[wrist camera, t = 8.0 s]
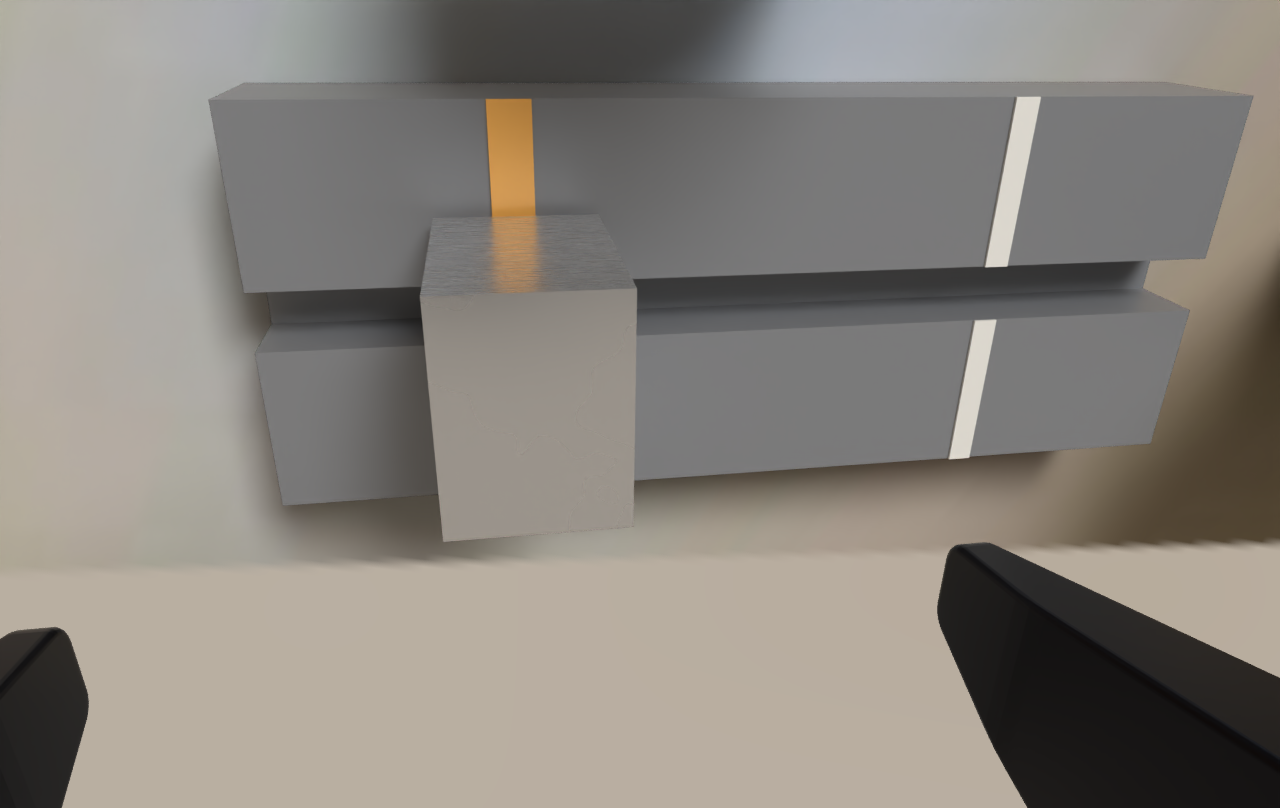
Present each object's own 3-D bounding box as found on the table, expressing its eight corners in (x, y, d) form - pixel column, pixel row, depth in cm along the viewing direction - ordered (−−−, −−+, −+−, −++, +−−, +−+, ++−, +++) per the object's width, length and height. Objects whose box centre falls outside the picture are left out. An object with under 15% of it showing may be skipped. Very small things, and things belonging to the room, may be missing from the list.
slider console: (1165, 82, 20) (1255, 96, 18) (1084, 398, 24) (1151, 444, 22) (243, 82, 17) (207, 100, 15) (303, 446, 21) (281, 507, 18)
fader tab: (588, 193, 18) (637, 288, 13) (589, 375, 20) (633, 527, 14) (436, 197, 18) (419, 296, 12) (451, 382, 19) (443, 541, 14)
